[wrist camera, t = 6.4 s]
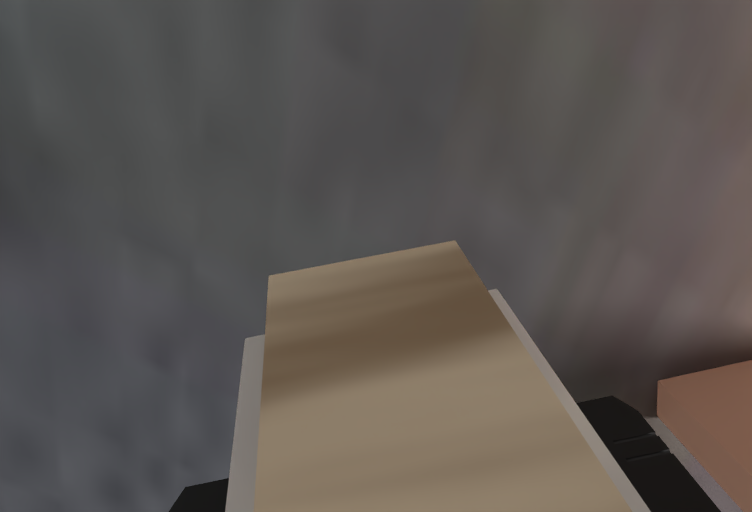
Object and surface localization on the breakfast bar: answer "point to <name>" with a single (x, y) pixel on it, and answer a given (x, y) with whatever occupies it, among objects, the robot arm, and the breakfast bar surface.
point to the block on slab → (411, 398)
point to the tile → (714, 423)
